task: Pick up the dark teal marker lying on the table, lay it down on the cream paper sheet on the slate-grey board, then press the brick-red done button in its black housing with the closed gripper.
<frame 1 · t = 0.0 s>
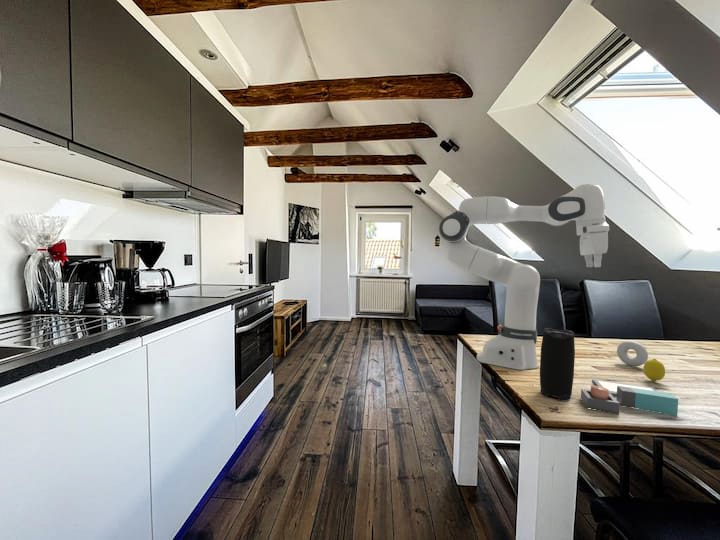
hand: (593, 267, 117), 39 cm above the table, tool pointing down, fingers open, 8 cm apart
marker: (645, 408, 89), on the table
button housing: (598, 406, 89), on the table
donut: (631, 366, 128), on the table
lemon: (653, 382, 110), on the table
drawing board: (628, 392, 100), on the table
done button: (599, 393, 89), point 3 cm above the table, slide at 0.0 cm
portable speaker: (555, 396, 96), on the table
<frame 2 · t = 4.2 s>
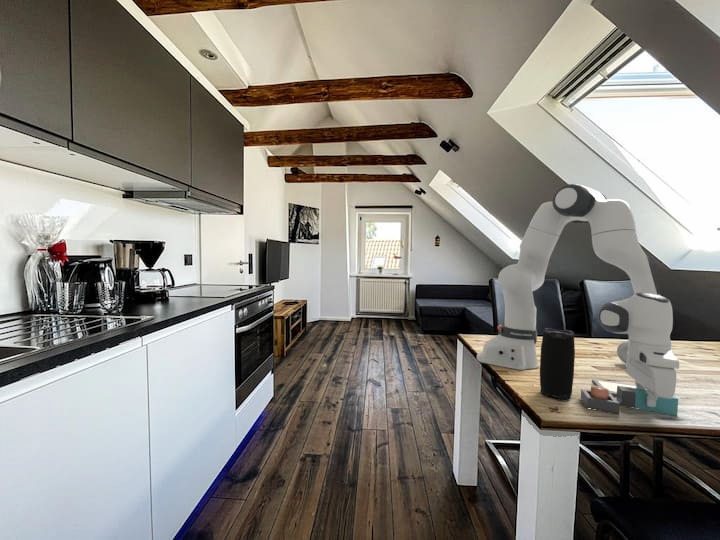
hand: (645, 401, 89), 2 cm above the table, tool pointing down, fingers closed on marker, 4 cm apart
marker: (645, 407, 89), on the table, touching gripper
everything else where it was.
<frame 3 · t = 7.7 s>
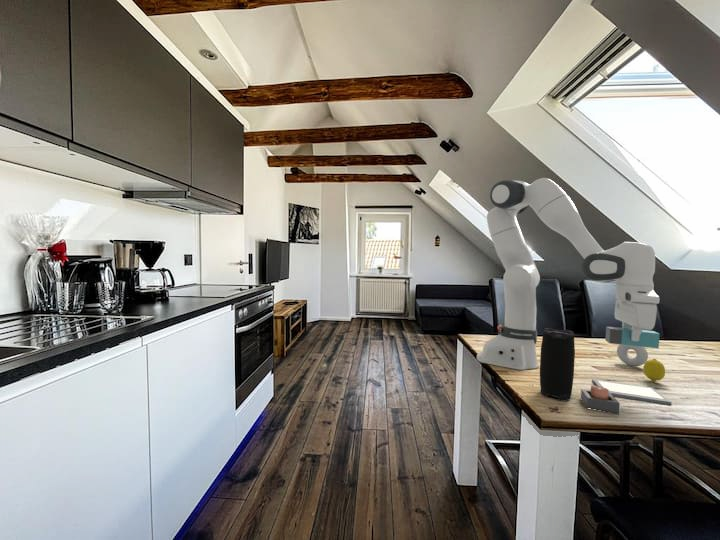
hand: (630, 338, 100), 17 cm above the table, tool pointing down, fingers closed on marker, 4 cm apart
marker: (630, 344, 100), point 15 cm above the table, touching gripper
everything else where it was.
when the fingers open (4 cm above the table, at t = 11.0 s): marker drops 1 cm, resting on drawing board.
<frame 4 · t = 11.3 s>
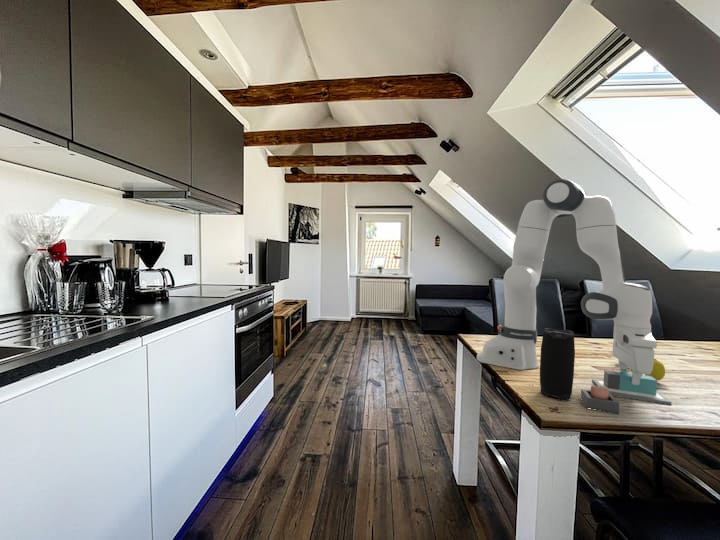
hand: (629, 379, 100), 4 cm above the table, tool pointing down, fingers open, 7 cm apart
marker: (628, 389, 100), point 1 cm above the table, touching drawing board
everything else where it was.
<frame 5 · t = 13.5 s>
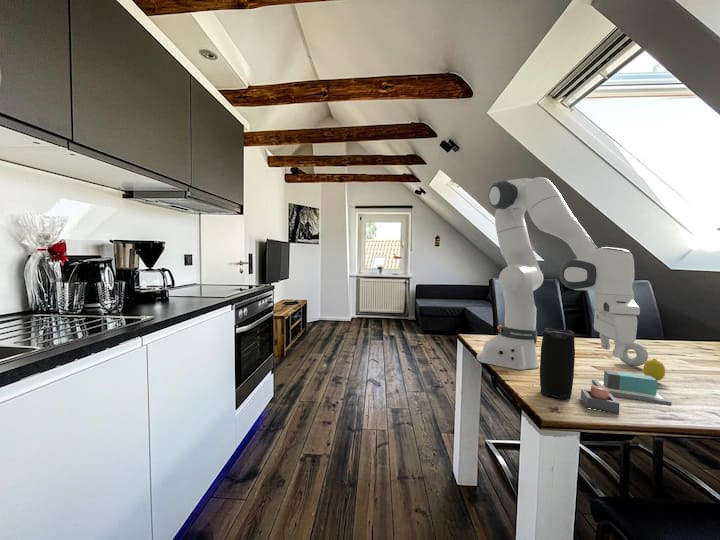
hand: (611, 352, 91), 14 cm above the table, tool pointing down, fingers open, 8 cm apart
nothing on the table moved.
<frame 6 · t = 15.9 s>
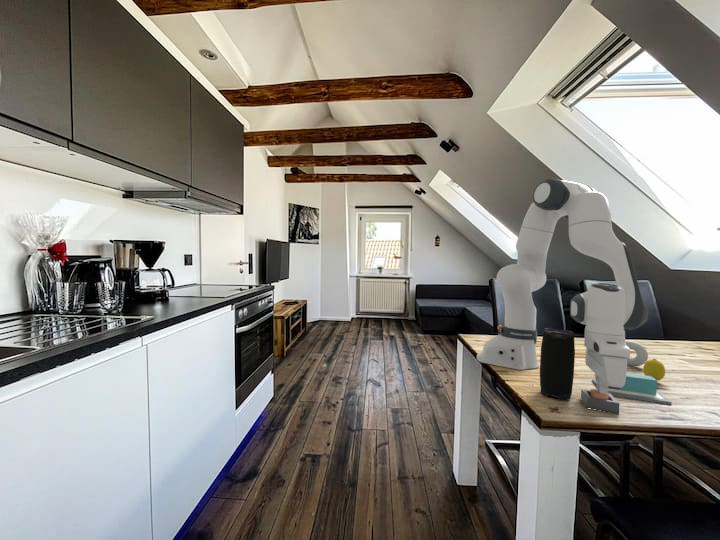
hand: (601, 392, 89), 4 cm above the table, tool pointing down, fingers closed, pressing on done button
done button: (599, 397, 89), point 3 cm above the table, slide at 0.9 cm, touching gripper
everything else where it was.
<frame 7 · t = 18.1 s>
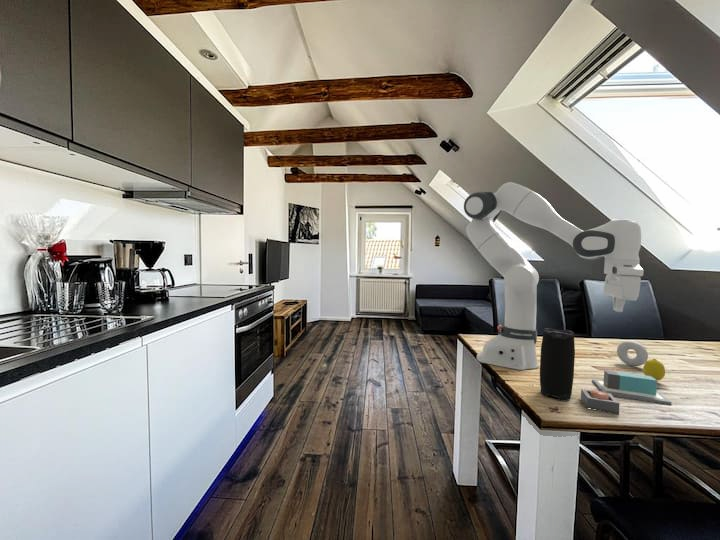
hand: (618, 311, 105), 24 cm above the table, tool pointing down, fingers closed
done button: (599, 398, 89), point 2 cm above the table, slide at 1.3 cm
everything else where it was.
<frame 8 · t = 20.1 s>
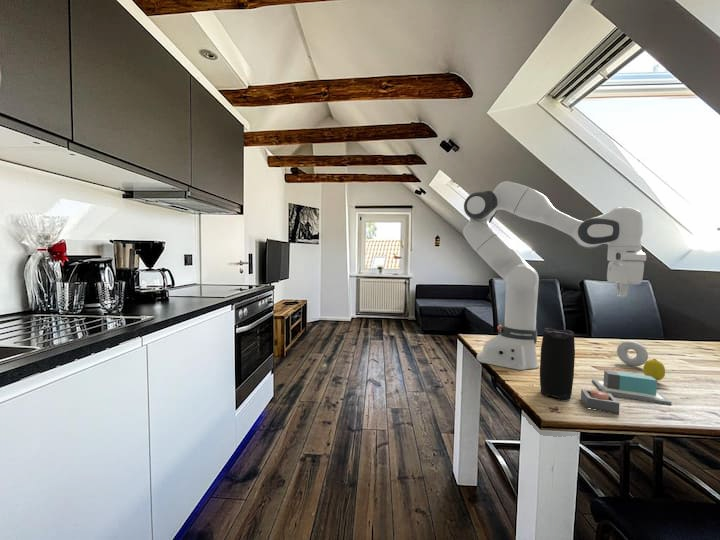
hand: (621, 296, 109), 29 cm above the table, tool pointing down, fingers closed
nothing on the table moved.
at the end: marker 0.1 cm from the drawing board (horizontally); marker touching drawing board; done button slide at 1.3 cm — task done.
